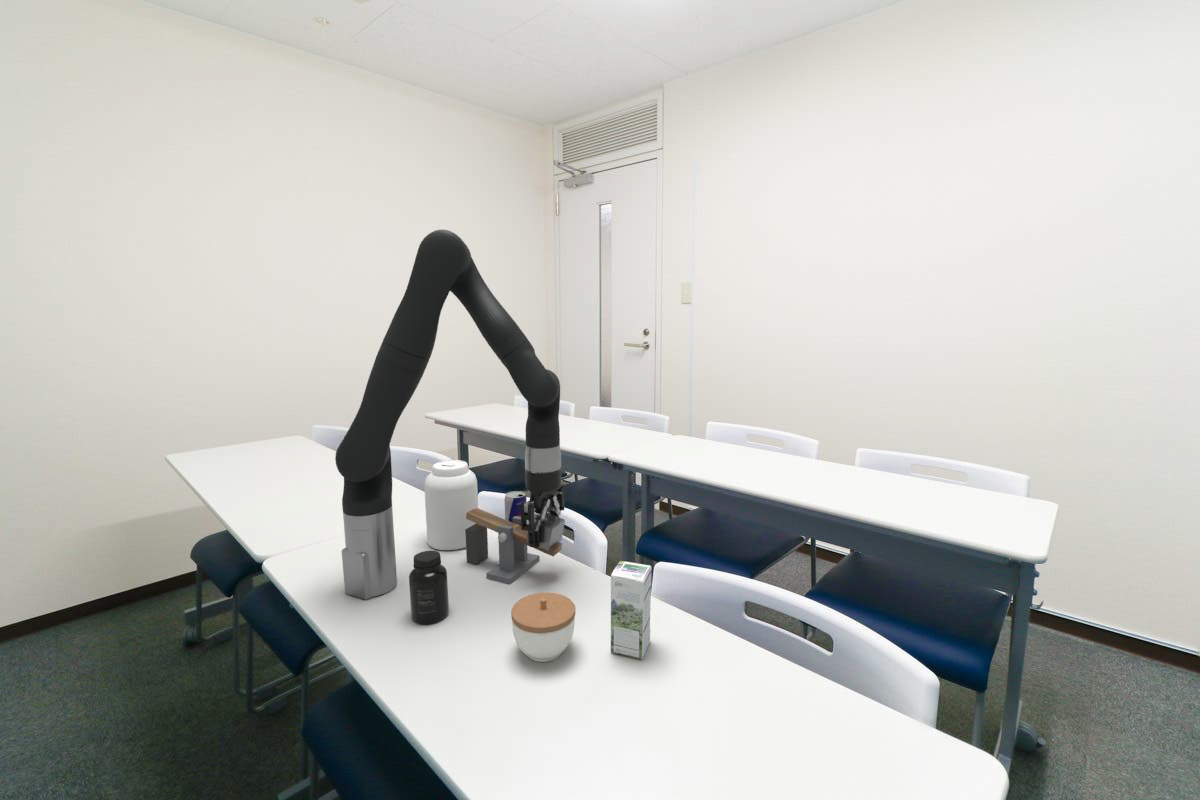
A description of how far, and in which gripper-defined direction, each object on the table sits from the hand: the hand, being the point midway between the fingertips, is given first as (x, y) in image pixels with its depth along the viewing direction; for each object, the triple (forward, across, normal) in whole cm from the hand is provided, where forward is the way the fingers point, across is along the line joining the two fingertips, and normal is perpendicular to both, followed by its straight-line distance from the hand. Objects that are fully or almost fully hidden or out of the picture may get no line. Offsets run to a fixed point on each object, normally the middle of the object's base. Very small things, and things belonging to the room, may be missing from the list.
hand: (544, 539), depth 115 cm
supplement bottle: (+9, +22, -12) cm, 27 cm away
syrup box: (+9, +15, +26) cm, 31 cm away
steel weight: (0, 0, 0) cm, 0 cm away
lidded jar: (+9, +22, +13) cm, 27 cm away
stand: (+9, 0, -12) cm, 15 cm away
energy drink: (+9, -13, -16) cm, 22 cm away
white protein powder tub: (+9, -6, -30) cm, 32 cm away
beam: (0, 0, -8) cm, 8 cm away
